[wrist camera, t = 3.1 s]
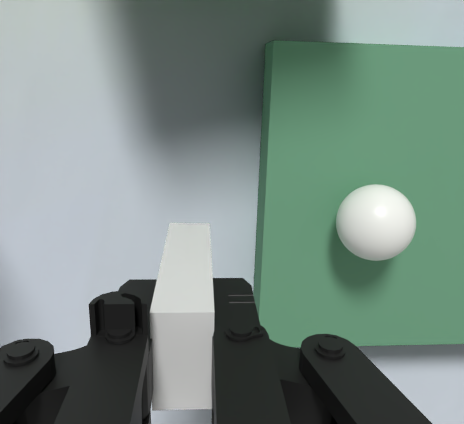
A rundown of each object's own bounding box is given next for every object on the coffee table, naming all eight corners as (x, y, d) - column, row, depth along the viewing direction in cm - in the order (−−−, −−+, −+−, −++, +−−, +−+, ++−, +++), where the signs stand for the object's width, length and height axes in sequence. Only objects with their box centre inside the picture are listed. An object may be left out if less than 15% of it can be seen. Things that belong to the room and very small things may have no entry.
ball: (323, 244, 23) (346, 273, 19) (330, 176, 22) (355, 195, 18) (390, 244, 23) (424, 273, 20) (400, 177, 22) (437, 196, 19)
